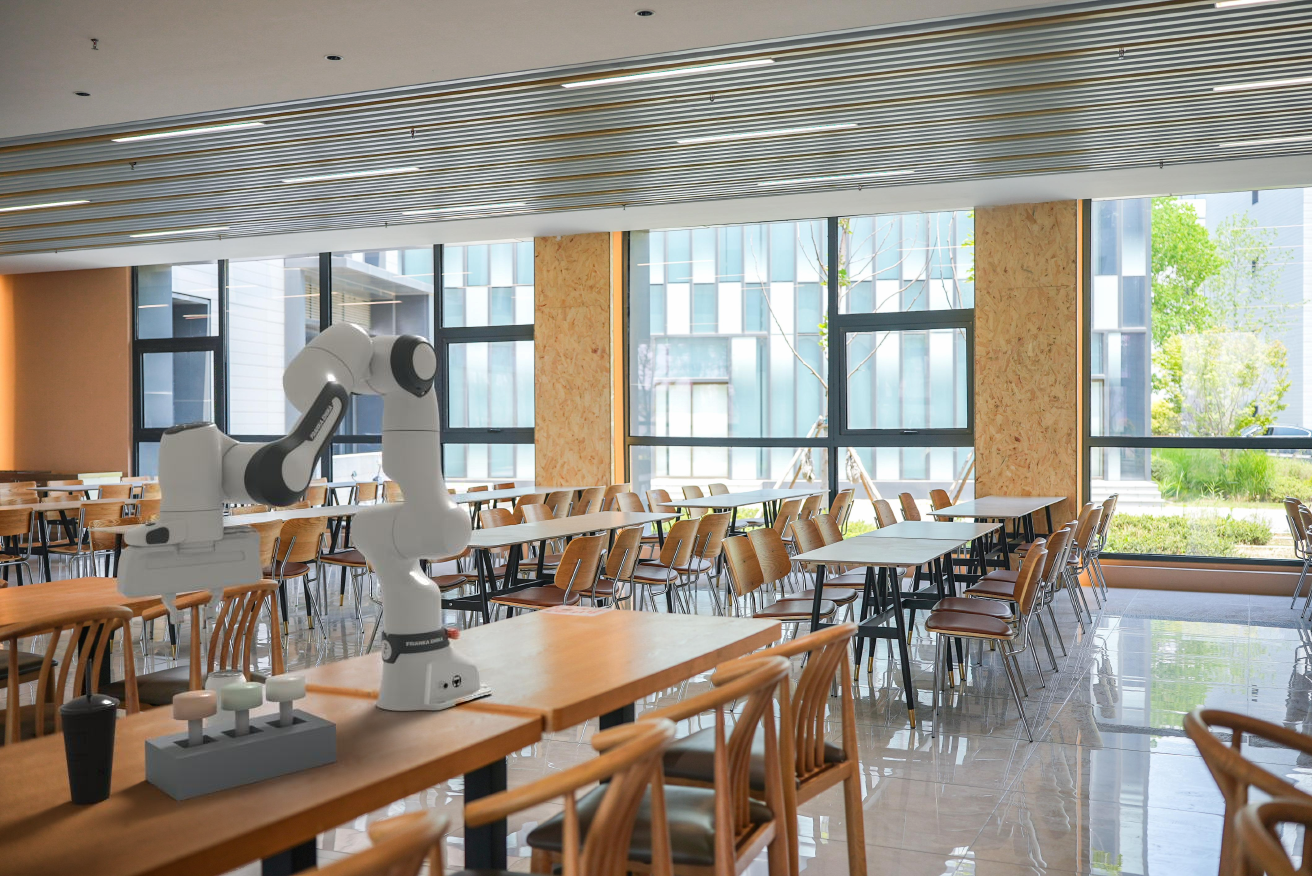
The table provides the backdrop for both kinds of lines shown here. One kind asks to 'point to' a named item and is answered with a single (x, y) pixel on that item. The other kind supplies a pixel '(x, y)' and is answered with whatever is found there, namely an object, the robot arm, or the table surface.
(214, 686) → the can
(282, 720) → the knob
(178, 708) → the knob
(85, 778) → the drinking cup
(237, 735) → the knob mid
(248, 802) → the table surface
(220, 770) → the mount
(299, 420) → the robot arm
